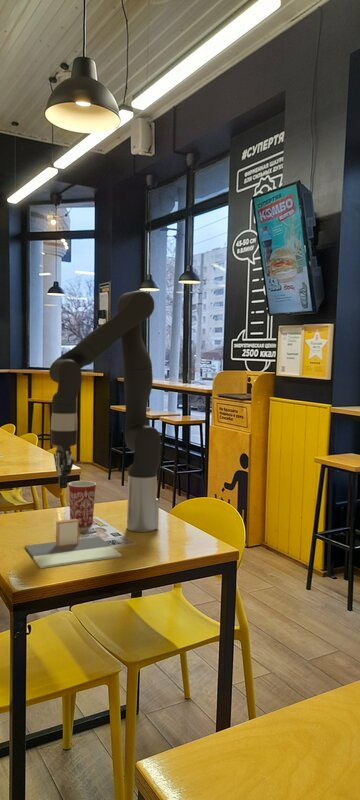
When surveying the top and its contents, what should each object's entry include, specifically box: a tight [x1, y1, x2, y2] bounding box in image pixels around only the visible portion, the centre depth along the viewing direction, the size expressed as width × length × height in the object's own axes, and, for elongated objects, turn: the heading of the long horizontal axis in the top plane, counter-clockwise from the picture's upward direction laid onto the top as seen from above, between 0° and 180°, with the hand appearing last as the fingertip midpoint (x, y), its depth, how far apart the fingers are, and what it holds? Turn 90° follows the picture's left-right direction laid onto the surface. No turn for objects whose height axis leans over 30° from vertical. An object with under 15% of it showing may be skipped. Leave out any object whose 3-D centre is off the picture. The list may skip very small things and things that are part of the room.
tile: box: [55, 518, 80, 547], centre depth 159 cm, size 6×2×7 cm, turn 117°
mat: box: [24, 536, 122, 569], centre depth 155 cm, size 22×18×1 cm
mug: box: [67, 480, 97, 528], centre depth 185 cm, size 13×9×14 cm
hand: (62, 487), depth 163 cm, fingers closed
